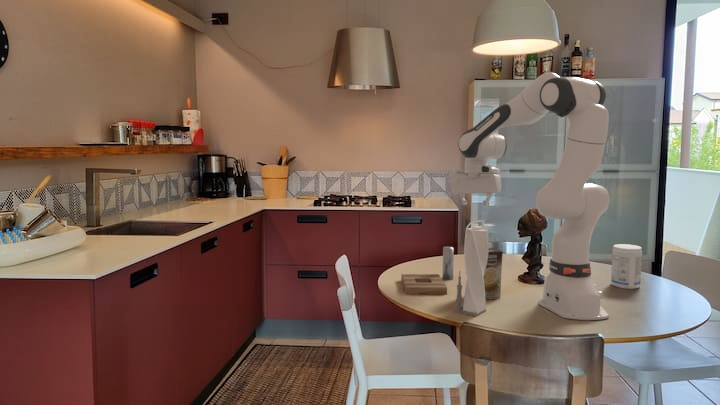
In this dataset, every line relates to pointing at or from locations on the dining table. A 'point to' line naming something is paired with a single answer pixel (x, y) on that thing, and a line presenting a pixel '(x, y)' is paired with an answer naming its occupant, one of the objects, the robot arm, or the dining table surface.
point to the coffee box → (493, 274)
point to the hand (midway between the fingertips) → (475, 205)
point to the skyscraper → (474, 271)
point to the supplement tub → (626, 266)
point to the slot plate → (423, 284)
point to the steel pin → (448, 263)
